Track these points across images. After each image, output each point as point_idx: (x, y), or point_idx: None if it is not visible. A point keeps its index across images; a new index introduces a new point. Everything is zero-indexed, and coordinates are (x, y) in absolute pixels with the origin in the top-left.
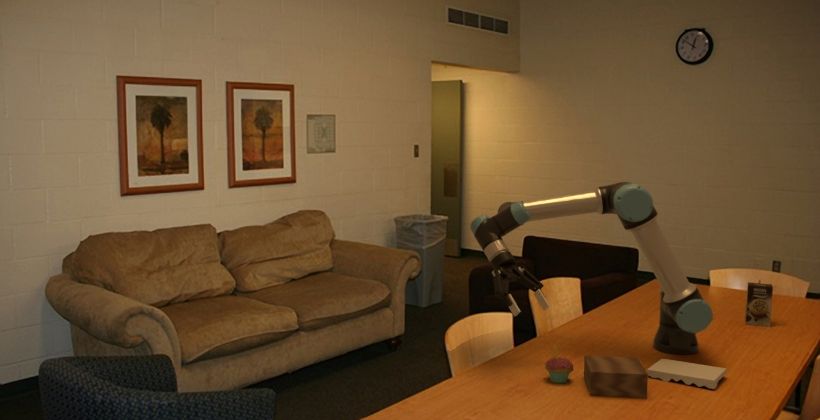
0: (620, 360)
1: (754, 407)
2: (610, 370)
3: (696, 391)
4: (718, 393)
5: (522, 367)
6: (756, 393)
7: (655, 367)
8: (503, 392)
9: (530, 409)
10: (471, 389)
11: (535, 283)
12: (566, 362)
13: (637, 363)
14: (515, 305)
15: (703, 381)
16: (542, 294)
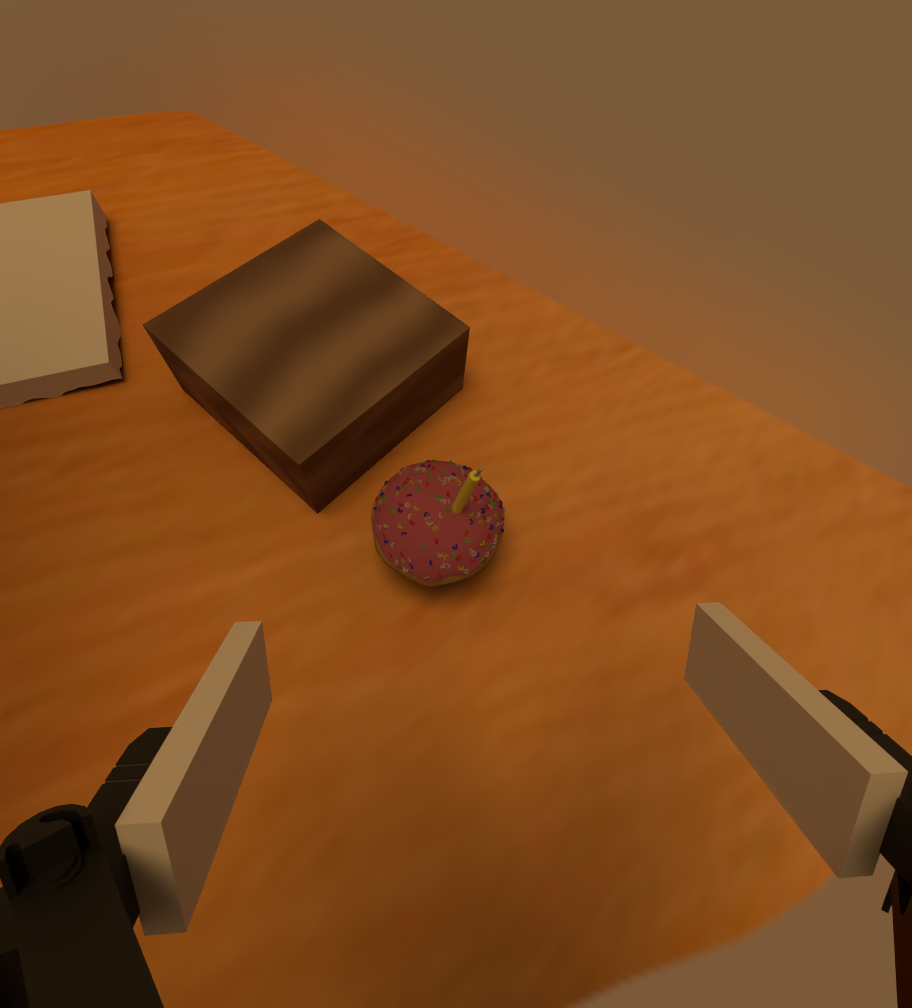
0: (239, 341)
1: (171, 134)
2: (390, 300)
3: (153, 243)
4: (123, 208)
5: (439, 787)
6: (44, 161)
7: (55, 358)
8: (726, 574)
9: (722, 417)
10: (837, 677)
11: (37, 990)
12: (435, 470)
13: (224, 288)
14: (764, 646)
15: (97, 220)
16: (180, 733)
